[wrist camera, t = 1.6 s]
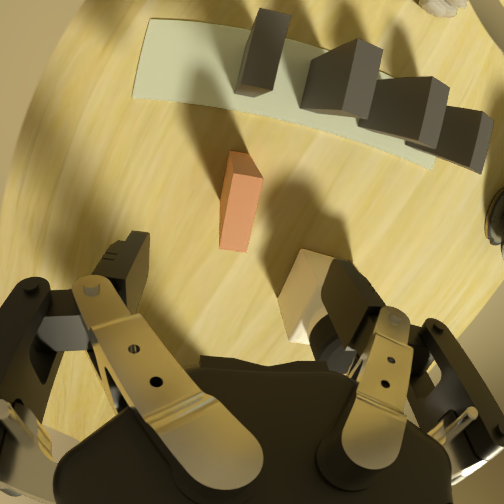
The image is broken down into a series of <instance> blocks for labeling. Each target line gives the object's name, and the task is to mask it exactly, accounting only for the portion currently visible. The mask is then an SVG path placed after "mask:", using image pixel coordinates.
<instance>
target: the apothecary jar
mask: <svg viewBox="0 0 504 504" xmlns="http://www.w3.org/2000/svg"><path fill="white" fill-rule="evenodd" d="M485 234H486V238H488V239H490V244H492V245H499V244H501V252H502V257H503V259H504V188H502V189H501V190H500V191H499V192H498V193H497V194H496V195H495V197H494V199H493V200H492V202H491V205H490V207H489V210H488V213H487V216H486V222H485Z"/></svg>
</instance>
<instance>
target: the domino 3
mask: <svg viewBox="0 0 504 504" xmlns="http://www.w3.org/2000/svg"><path fill="white" fill-rule="evenodd" d="M382 53H383V49H381V48H379V47H377V46H374V45H372V44H370V43H368V42H365V41H363V40H361V39H355V40H353V41H351V42H348V43H346V44H344V45H341V46H339V47H337V48H335V49H333V50H331V51H328V52H326V53H324V54H322V55H320V56H318V57H316V58H314V59H312V60H311V63H310V67H309V71H308V76H307V80H306V84H305V88H304V92H303V97H302V101H301V105H300V109H303V110H307V111H310V112H314V113H317V114H326V115H336V116H345V117H353V118H361V119H368V116H369V112H370V107H371V103H372V99H373V95H374V90H375V86H376V82H377V77H378V72H379V68H380V63H381V58H382Z"/></svg>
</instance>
